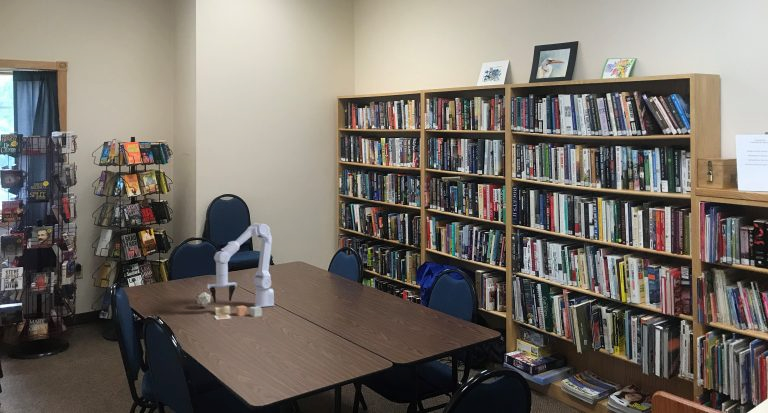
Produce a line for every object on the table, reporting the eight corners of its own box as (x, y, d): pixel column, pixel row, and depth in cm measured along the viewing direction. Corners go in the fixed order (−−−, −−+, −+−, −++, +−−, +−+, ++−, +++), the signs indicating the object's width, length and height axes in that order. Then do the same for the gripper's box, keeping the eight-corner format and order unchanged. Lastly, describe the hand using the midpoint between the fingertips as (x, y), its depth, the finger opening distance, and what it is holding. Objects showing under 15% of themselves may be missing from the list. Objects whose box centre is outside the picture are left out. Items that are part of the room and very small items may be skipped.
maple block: (229, 311, 318) (228, 305, 318) (230, 314, 311) (230, 308, 311) (215, 312, 315) (214, 306, 315) (216, 315, 309) (215, 309, 309)
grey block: (256, 314, 311) (256, 306, 310) (261, 315, 307) (261, 307, 307) (249, 315, 308) (249, 307, 308) (254, 317, 304) (254, 309, 304)
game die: (207, 310, 318) (207, 291, 317) (192, 310, 320) (192, 291, 319) (215, 307, 327) (215, 288, 326) (201, 306, 328) (200, 288, 328)
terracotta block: (243, 313, 313) (243, 305, 312) (247, 315, 308) (247, 307, 308) (236, 314, 311) (236, 306, 310) (239, 316, 306) (239, 308, 306)
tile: (228, 315, 307) (228, 314, 307) (231, 318, 301) (231, 317, 301) (214, 316, 304) (214, 315, 304) (216, 319, 298) (216, 318, 298)
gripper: (234, 272, 319) (235, 298, 320) (206, 274, 313) (206, 301, 314) (237, 274, 313) (238, 301, 313) (208, 276, 307) (208, 303, 307)
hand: (222, 301), depth 313 cm, fingers open, 7 cm apart
